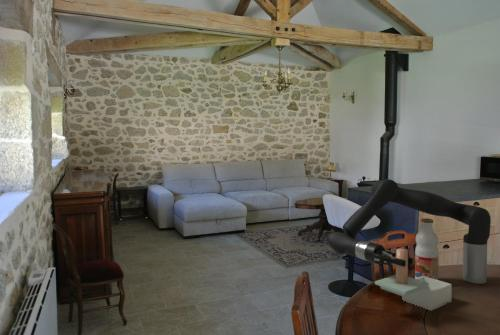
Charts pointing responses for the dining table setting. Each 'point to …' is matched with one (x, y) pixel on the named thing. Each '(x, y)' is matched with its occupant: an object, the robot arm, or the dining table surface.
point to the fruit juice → (426, 251)
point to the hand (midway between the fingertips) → (408, 262)
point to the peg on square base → (401, 279)
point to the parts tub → (431, 294)
